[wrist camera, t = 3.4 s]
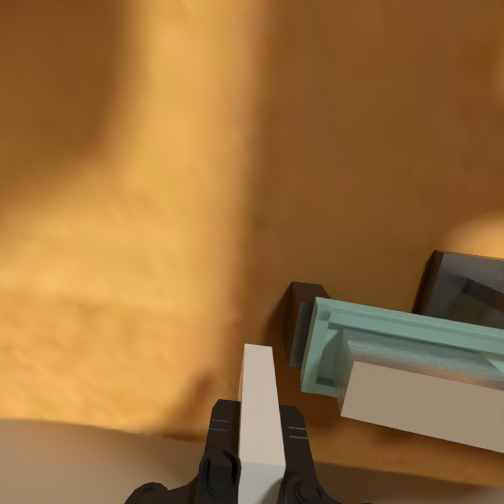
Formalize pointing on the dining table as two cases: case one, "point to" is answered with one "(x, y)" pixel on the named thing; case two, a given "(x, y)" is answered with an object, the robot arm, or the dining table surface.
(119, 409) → the dining table surface
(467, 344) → the beam
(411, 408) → the block
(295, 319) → the stand
